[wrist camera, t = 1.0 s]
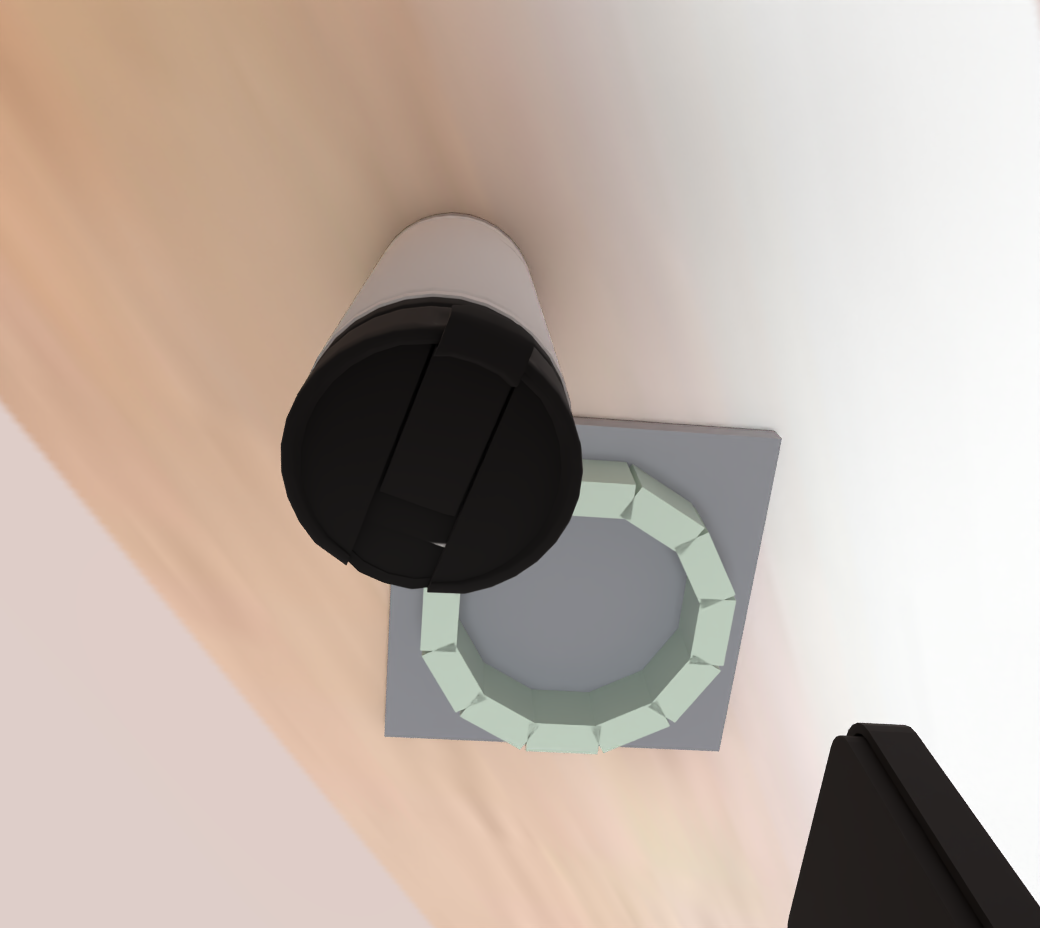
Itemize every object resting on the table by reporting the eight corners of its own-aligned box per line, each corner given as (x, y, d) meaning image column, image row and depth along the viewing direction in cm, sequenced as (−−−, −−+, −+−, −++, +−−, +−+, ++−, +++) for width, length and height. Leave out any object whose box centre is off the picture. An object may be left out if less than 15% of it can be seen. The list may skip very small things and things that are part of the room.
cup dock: (400, 404, 38) (392, 432, 35) (774, 430, 39) (801, 460, 36) (386, 723, 44) (379, 772, 41) (714, 737, 45) (732, 787, 42)
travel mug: (560, 240, 36) (648, 382, 18) (497, 390, 38) (516, 659, 20) (410, 177, 35) (334, 257, 16) (353, 335, 37) (230, 565, 19)
